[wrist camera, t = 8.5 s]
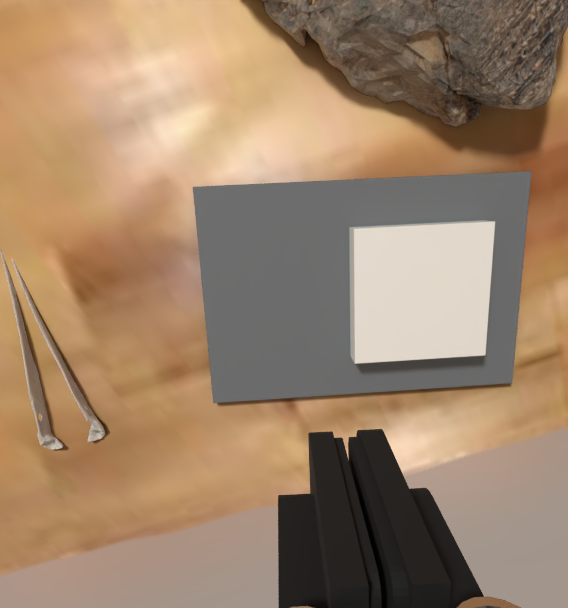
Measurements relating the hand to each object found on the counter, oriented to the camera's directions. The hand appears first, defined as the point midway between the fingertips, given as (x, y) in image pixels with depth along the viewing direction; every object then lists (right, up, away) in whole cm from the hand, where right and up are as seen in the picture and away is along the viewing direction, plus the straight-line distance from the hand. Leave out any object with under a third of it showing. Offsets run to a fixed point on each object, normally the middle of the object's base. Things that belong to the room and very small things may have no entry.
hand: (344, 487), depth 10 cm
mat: (+4, +5, +20) cm, 21 cm away
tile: (+3, +5, +19) cm, 20 cm away
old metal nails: (-19, +2, +20) cm, 28 cm away
